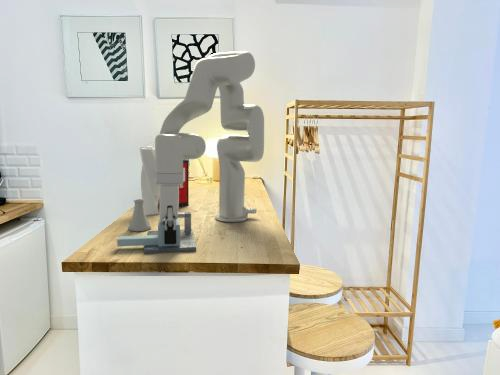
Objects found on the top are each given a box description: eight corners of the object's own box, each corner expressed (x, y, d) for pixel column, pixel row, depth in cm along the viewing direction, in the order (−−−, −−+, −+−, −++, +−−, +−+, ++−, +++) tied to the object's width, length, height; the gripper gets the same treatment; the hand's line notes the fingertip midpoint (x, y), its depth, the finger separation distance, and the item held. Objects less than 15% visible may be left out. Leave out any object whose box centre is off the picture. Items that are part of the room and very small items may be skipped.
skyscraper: (159, 210, 148) (158, 141, 144) (164, 214, 142) (163, 142, 137) (139, 212, 144) (137, 141, 140) (143, 216, 138) (141, 142, 133)
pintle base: (192, 232, 118) (192, 211, 117) (196, 251, 101) (196, 226, 100) (147, 234, 115) (147, 212, 114) (144, 253, 98) (143, 228, 97)
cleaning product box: (153, 201, 165) (152, 158, 162) (170, 199, 171) (170, 157, 168) (170, 208, 153) (169, 161, 149) (188, 205, 158) (188, 160, 155)
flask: (142, 225, 126) (141, 196, 125) (155, 229, 122) (154, 200, 120) (124, 229, 121) (123, 199, 119) (136, 233, 116) (135, 203, 115)
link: (179, 239, 107) (179, 219, 106) (180, 245, 102) (180, 224, 101) (119, 241, 104) (119, 221, 103) (116, 248, 98) (115, 226, 97)
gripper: (156, 174, 109) (157, 231, 111) (154, 183, 92) (155, 250, 95) (182, 174, 110) (182, 230, 113) (184, 183, 93) (184, 248, 96)
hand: (170, 238), depth 104 cm, fingers open, 7 cm apart
